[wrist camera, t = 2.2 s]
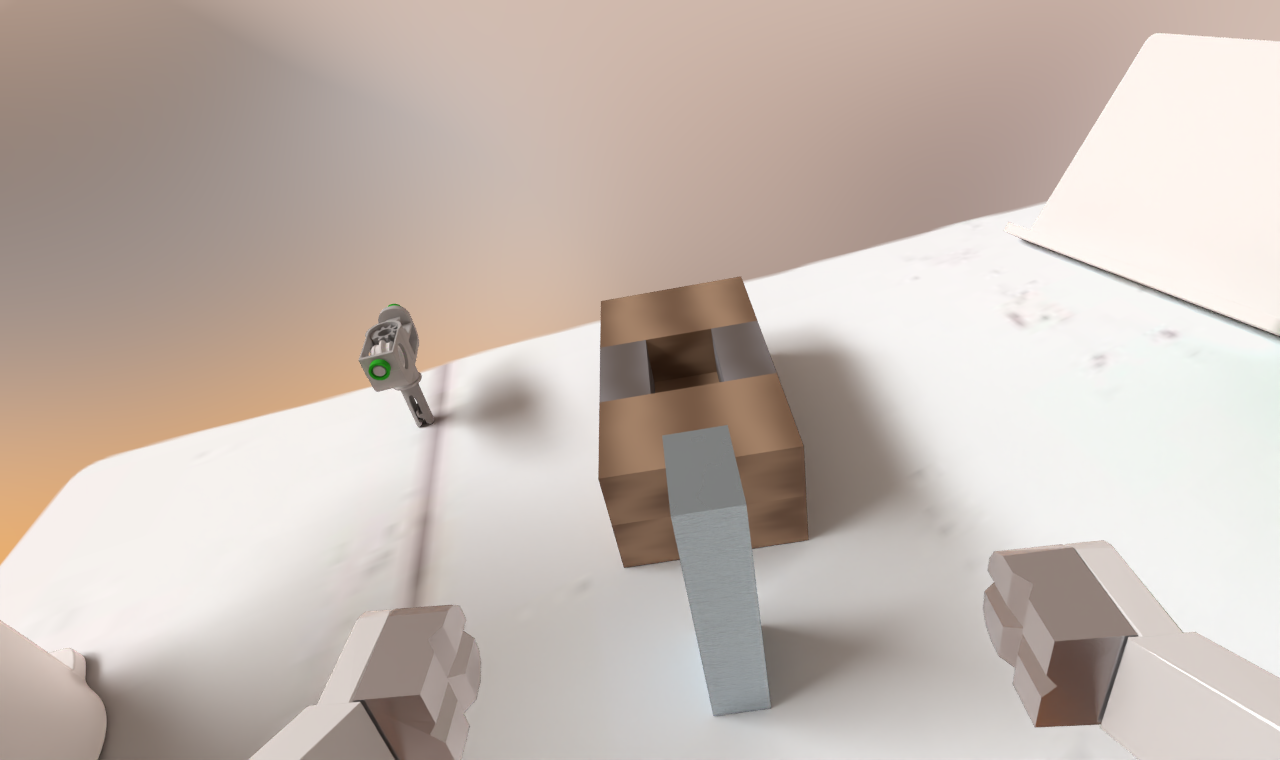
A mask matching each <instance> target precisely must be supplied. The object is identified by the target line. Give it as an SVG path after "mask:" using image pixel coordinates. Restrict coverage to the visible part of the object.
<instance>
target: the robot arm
mask: <svg viewBox="0 0 1280 760" xmlns="http://www.w3.org/2000/svg"><path fill="white" fill-rule="evenodd" d="M988 572H989V574H990V576H991V577H992V579H993V581H994V583H993V584H992V585H991V586H990V587H989V588H988V589H987V590H986V591H985V592H984V603H983V611H984V617H985V623H986V628H987V631H988V633H989V636H990V639H991V642H992V644H993V646H994V648H995V650H996V652H997V654H998V656H999V657H1000V658H1002V659H1003V660H1005V661H1006V662H1007V663H1009V664H1010V665H1012V666H1013V667H1015V673H1014V678H1013V686H1014V688H1015V690H1016V692H1017V694H1018V695H1019V697H1020V699H1021V701H1022V703H1023V705H1024V707H1025V709H1026V711H1027V713H1028V715H1029V717H1030V719H1031V721H1032V723H1033V725H1034V727H1055V726H1077V725H1099V724H1101V726H1100V728H1101V729H1102V730H1103V731H1105V732H1106V733H1107V734H1108V735H1109V736H1111V737H1112V738H1113V739H1114V740H1115V741H1117V742H1118V743H1119V744H1120V745H1122V746H1123V747H1124V748H1125V749H1126V750H1128V751H1129V752H1130V753H1131V754H1132V755H1134V756H1135V757H1136V758H1137V759H1138V760H1280V678H1279V677H1277V676H1275V675H1273V674H1271V673H1269V672H1268V671H1266V670H1264V669H1262V668H1260V667H1258V666H1257V665H1255V664H1253V663H1251V662H1249V661H1247V660H1246V659H1244V658H1242V657H1240V656H1238V655H1236V654H1235V653H1233V652H1231V651H1229V650H1227V649H1225V648H1224V647H1222V646H1220V645H1218V644H1216V643H1214V642H1213V641H1211V640H1209V639H1207V638H1205V637H1203V636H1202V635H1200V634H1198V633H1196V632H1187V633H1183V632H1182V630H1181V629H1180V628H1179V627H1178V626H1177V624H1176V623H1175V622H1174V621H1173V619H1172V618H1171V617H1170V616H1169V615H1168V613H1167V612H1166V611H1165V610H1164V608H1163V607H1162V606H1161V605H1160V604H1159V602H1158V601H1157V600H1156V599H1155V597H1154V596H1153V595H1152V594H1151V593H1150V591H1149V590H1148V589H1147V588H1146V586H1145V585H1144V584H1143V583H1142V582H1141V580H1140V579H1139V578H1138V577H1137V575H1136V574H1135V573H1134V572H1133V571H1132V569H1131V568H1130V567H1129V566H1128V564H1127V563H1126V562H1125V561H1124V560H1123V558H1122V557H1121V556H1120V555H1119V553H1118V552H1117V551H1116V550H1115V549H1114V547H1113V546H1112V545H1111V544H1109V543H1107V542H1106V541H1104V540H1101V541H1091V542H1082V543H1072V544H1066V545H1062V544H1059V545H1050V546H1041V547H1031V548H1022V549H1013V550H1004V551H995V552H993V554H992V555H991V557H990V558H989V564H988ZM465 623H466V617H465V615H464V613H463V611H462V609H461V607H460V606H459V605H444V606H430V607H416V608H401V609H393V610H380V611H367V612H365V613H364V614H362V615H361V616H360V617H359V618H358V619H357V621H356V623H355V625H354V627H353V629H352V631H351V634H350V636H349V638H348V640H347V642H346V644H345V646H344V648H343V651H342V653H341V655H340V657H339V659H338V661H337V663H336V665H335V668H334V670H333V672H332V674H331V676H330V678H329V680H328V682H327V685H326V687H325V689H324V691H323V693H322V695H321V697H320V699H319V702H318V704H317V705H313V706H307V707H306V708H305V709H304V710H303V711H302V712H301V713H299V714H298V715H297V716H296V717H295V718H294V719H293V720H292V721H291V722H289V723H288V724H287V725H286V726H285V727H284V728H283V729H282V730H281V731H279V732H278V733H277V734H276V735H275V736H274V737H273V738H272V739H271V740H269V741H268V742H267V743H266V744H265V745H264V746H263V747H262V748H261V749H259V750H258V751H257V752H256V753H255V754H254V755H253V756H252V757H251V758H249V759H248V760H461V759H462V755H463V751H464V747H465V743H466V740H467V736H468V732H469V728H470V726H469V724H468V721H467V719H466V717H465V715H464V713H465V711H466V710H467V709H468V708H469V707H470V706H471V705H472V704H473V703H474V701H475V700H476V699H477V695H478V691H479V686H480V682H481V658H480V653H479V648H478V646H477V643H476V641H475V638H473V637H472V636H470V635H469V634H467V633H466V632H464V631H463V630H464V626H465ZM85 677H86V661H85V658H84V656H83V655H81V654H80V653H78V652H77V651H75V650H74V649H71V648H64V649H60V650H56V651H53V652H50V653H48V652H47V651H45V650H44V649H42V648H41V647H39V646H38V645H37V644H35V643H34V642H32V641H31V640H29V639H28V638H26V637H25V636H23V635H22V634H20V633H19V632H17V631H16V630H15V629H13V628H12V627H10V626H9V625H7V624H6V623H4V622H3V621H1V620H0V760H98V758H99V755H100V752H101V749H102V746H103V743H104V739H105V734H106V726H107V717H106V710H105V707H104V704H103V702H102V700H101V699H100V697H99V696H98V695H97V694H96V693H95V692H94V691H93V690H92V689H91V688H90V687H89V686H88V685H87V683H86V681H85Z"/></svg>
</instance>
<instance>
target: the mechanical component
mask: <svg viewBox="0 0 1280 760" xmlns="http://www.w3.org/2000/svg"><path fill="white" fill-rule="evenodd" d="M378 321H379V324H376V325H375V326H373V327H371V328H370V329H369V330H368V331H367V332H366V335H365V336H366V339H365V342H364V345H363V349H362V352H361V355H360V358H359V362H360V364H361V366H362V368H363V370H364V372H365V374H366V376H367V378H368V379H369V381H370V382H371V385H372V387H373V388H374V390H375V391H377V392H379V391H383V390H387V389H391V388H394V389H395V390H401V392H402V394H403V396H404V398H405V400H406V402H407V405H408V407H409V409H410V411H411V413H412V415H413V417H414V420H415V422H416V424H417V426H418V427H420V426H421V425H422V423H423V419H425V420H426V422H427V423H428V424H432V423H433V422H434V418H433V415H432V413H431V411H430V409H429V406H428V404H427V402H426V400H425V397H424V395H423V393H422V391H421V389H420V386H419V384H418V383H419V382H420V380H421V378H422V376H421V374H420V373H419V372H418V371H417V369H416V366H415V362H416V357H417V351H418V346H419V339H418V334H417V331H416V328H415V325H414V323H413V321H412V318H411V316H410V314H409V312H408V311H407V310H406V309H405V308H403V307H401V306H400V305H398V304H391V305H389V306H388V307H386V308H384V309H383V310H382V311H381V313H380V315H379V319H378ZM369 352H370V353H371V356H368V353H369ZM414 398H415V399H416V400H417V404H416V402H415V399H414Z"/></svg>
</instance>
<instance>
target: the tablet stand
mask: <svg viewBox="0 0 1280 760" xmlns="http://www.w3.org/2000/svg"><path fill="white" fill-rule="evenodd" d="M1004 231H1005V232H1007V233H1009V234H1011V235H1014V236H1016V237H1018V238H1021V239H1023V240H1026V241H1028V242H1031V243H1034V244H1036V245H1039V246H1042V247H1044V248H1047V249H1050V250H1052V251H1055V252H1057V253H1060V254H1063V255H1065V256H1068V257H1071V258H1073V259H1076V260H1079V261H1081V262H1084V263H1087V264H1089V265H1092V266H1095V267H1097V268H1100V269H1103V270H1105V271H1108V272H1111V273H1113V274H1116V275H1118V276H1121V277H1124V278H1126V279H1129V280H1132V281H1134V282H1137V283H1140V284H1142V285H1145V286H1148V287H1150V288H1153V289H1156V290H1158V291H1161V292H1164V293H1166V294H1169V295H1172V296H1174V297H1177V298H1179V299H1182V300H1185V301H1187V302H1190V303H1193V304H1195V305H1198V306H1201V307H1203V308H1206V309H1209V310H1211V311H1214V312H1217V313H1219V314H1222V315H1225V316H1227V317H1230V318H1232V319H1235V320H1238V321H1240V322H1243V323H1246V324H1248V325H1251V326H1254V327H1256V328H1259V329H1262V330H1264V331H1267V332H1270V333H1272V334H1275V335H1278V336H1280V42H1278V41H1263V40H1249V39H1235V38H1221V37H1206V36H1192V35H1178V34H1163V33H1157V34H1154V35H1152V36H1150V37H1149V38H1148V39H1147V40H1146V42H1145V43H1144V45H1143V46H1142V48H1141V50H1140V51H1139V53H1138V55H1137V56H1136V58H1135V59H1134V61H1133V63H1132V64H1131V66H1130V68H1129V69H1128V71H1127V73H1126V74H1125V76H1124V77H1123V79H1122V81H1121V82H1120V84H1119V86H1118V87H1117V89H1116V90H1115V92H1114V94H1113V96H1112V97H1111V99H1110V100H1109V102H1108V103H1107V105H1106V107H1105V108H1104V110H1103V112H1102V113H1101V115H1100V117H1099V118H1098V120H1097V122H1096V123H1095V125H1094V126H1093V128H1092V130H1091V131H1090V133H1089V134H1088V136H1087V138H1086V139H1085V141H1084V143H1083V144H1082V146H1081V148H1080V149H1079V151H1078V152H1077V154H1076V156H1075V157H1074V159H1073V161H1072V162H1071V164H1070V165H1069V167H1068V169H1067V170H1066V172H1065V174H1064V175H1063V177H1062V178H1061V180H1060V182H1059V183H1058V185H1057V187H1056V189H1055V190H1054V192H1053V193H1052V195H1051V197H1050V198H1049V200H1048V201H1047V203H1046V205H1045V206H1044V208H1043V209H1042V211H1041V213H1040V214H1039V216H1038V218H1037V219H1036V221H1035V223H1034V224H1033V226H1032V227H1031V229H1027V228H1025V227H1022V226H1019V225H1016V224H1013V223H1011V222H1008V224H1007V226H1006V227H1005V229H1004Z"/></svg>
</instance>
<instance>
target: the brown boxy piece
mask: <svg viewBox="0 0 1280 760" xmlns="http://www.w3.org/2000/svg"><path fill="white" fill-rule="evenodd" d="M724 425H728V429H729V433H730V437H731V441H732V446H733V450H734V454H735V458H736V463H737V467H738V471H739V475H740V479H741V484H742V488H743V492H744V496H745V501H746V505H747V513H748V522H749V530H750V538H751V546H752V548H758V547H765V546H771V545H778V544H785V543H791V542H798V541H805V540H808V524H807V503H806V483H805V462H804V446H803V443H802V440H801V437H800V435H799V432H798V429H797V427H796V424H795V421H794V418H793V416H792V413H791V410H790V408H789V405H788V402H787V400H786V397H785V394H784V391H783V389H782V386H781V383H780V381H779V378H778V375H777V373H776V370H775V367H774V364H773V362H772V359H771V356H770V354H769V351H768V348H767V345H766V343H765V340H764V337H763V335H762V332H761V329H760V327H759V324H758V321H757V318H756V316H755V313H754V310H753V308H752V305H751V302H750V300H749V297H748V294H747V291H746V289H745V286H744V283H743V281H742V278H741V277H736V278H729V279H724V280H719V281H713V282H707V283H701V284H696V285H690V286H684V287H679V288H673V289H667V290H662V291H657V292H650V293H645V294H639V295H633V296H628V297H623V298H617V299H611V300H606V301H601V340H600V409H599V478H598V479H599V482H600V486H601V489H602V493H603V496H604V500H605V503H606V507H607V510H608V514H609V517H610V520H611V524H612V527H613V531H614V534H615V538H616V541H617V545H618V548H619V552H620V555H621V559H622V562H623V566H624V568H625V567H632V566H638V565H645V564H652V563H658V562H665V561H672V560H678V559H680V557H679V553H678V548H677V543H676V539H675V534H674V529H673V525H672V520H671V514H670V505H669V495H668V486H667V477H666V467H665V458H664V448H663V439H662V436H663V435H669V434H675V433H681V432H688V431H694V430H700V429H706V428H712V427H718V426H724Z"/></svg>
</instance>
